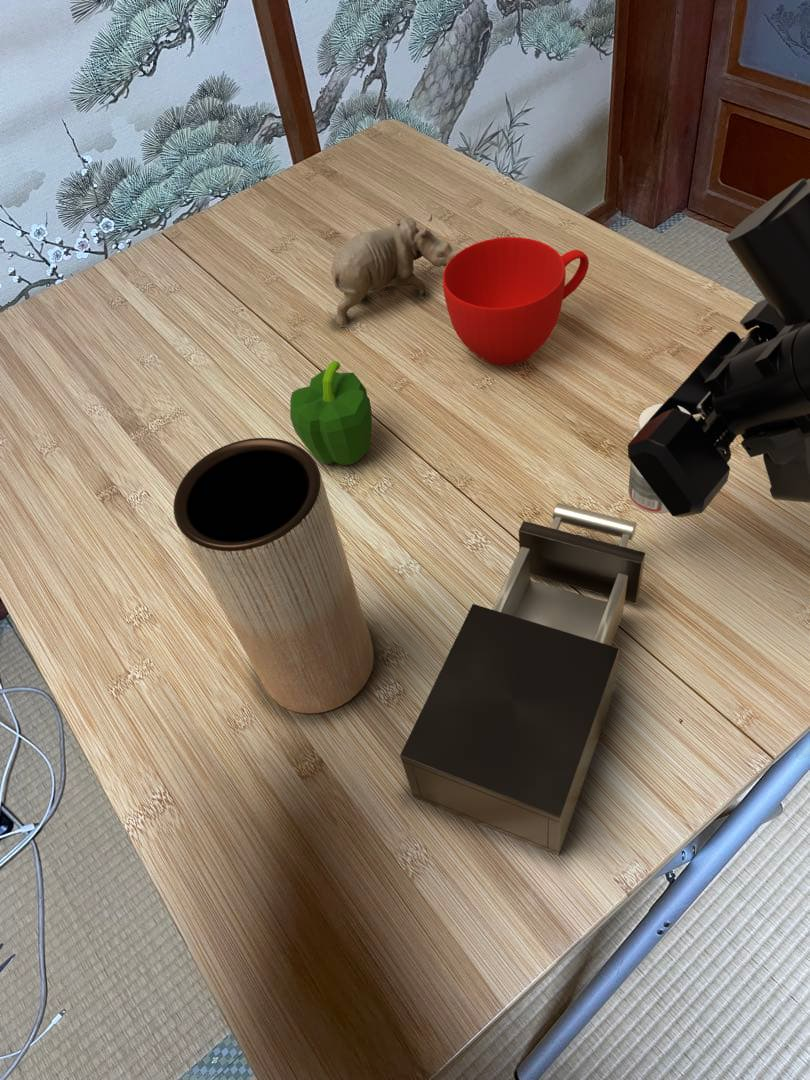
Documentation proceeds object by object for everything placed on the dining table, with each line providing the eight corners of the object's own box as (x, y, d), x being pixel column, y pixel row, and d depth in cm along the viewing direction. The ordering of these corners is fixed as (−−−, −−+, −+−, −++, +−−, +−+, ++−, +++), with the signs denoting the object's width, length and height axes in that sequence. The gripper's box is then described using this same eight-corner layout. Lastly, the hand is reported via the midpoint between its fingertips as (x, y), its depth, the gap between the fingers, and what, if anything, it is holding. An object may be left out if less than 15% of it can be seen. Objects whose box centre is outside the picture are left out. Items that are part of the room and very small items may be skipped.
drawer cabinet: (478, 653, 71) (472, 603, 65) (612, 696, 67) (619, 647, 61) (412, 797, 64) (399, 755, 58) (558, 855, 60) (560, 817, 54)
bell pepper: (341, 490, 85) (321, 418, 77) (289, 455, 89) (265, 384, 81) (398, 443, 88) (384, 369, 80) (345, 411, 92) (327, 338, 85)
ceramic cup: (616, 343, 94) (623, 265, 86) (484, 400, 91) (478, 325, 83) (554, 287, 101) (555, 211, 94) (431, 338, 98) (421, 263, 91)
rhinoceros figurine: (299, 284, 104) (351, 177, 95) (391, 309, 112) (447, 211, 103) (315, 324, 100) (371, 215, 91) (409, 346, 108) (469, 248, 98)
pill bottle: (677, 469, 71) (689, 394, 64) (694, 510, 68) (707, 436, 61) (621, 477, 71) (627, 404, 65) (635, 519, 68) (643, 446, 62)
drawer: (540, 526, 78) (540, 484, 73) (652, 555, 74) (659, 513, 70) (472, 675, 69) (467, 638, 64) (596, 717, 65) (600, 681, 61)
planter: (354, 725, 68) (288, 559, 51) (244, 703, 71) (145, 537, 54) (388, 624, 74) (340, 443, 57) (285, 607, 77) (208, 428, 59)
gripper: (827, 565, 49) (644, 587, 63) (949, 384, 56) (761, 440, 70) (720, 416, 47) (556, 474, 61) (862, 249, 54) (687, 334, 68)
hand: (648, 431), depth 65 cm, fingers closed on pill bottle, 4 cm apart
